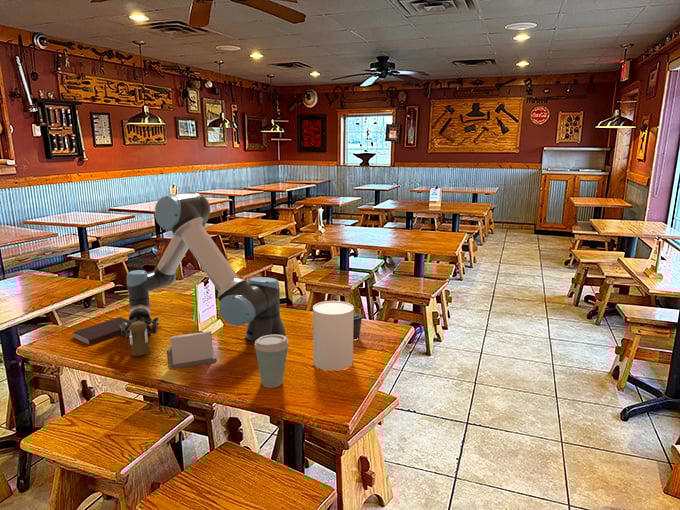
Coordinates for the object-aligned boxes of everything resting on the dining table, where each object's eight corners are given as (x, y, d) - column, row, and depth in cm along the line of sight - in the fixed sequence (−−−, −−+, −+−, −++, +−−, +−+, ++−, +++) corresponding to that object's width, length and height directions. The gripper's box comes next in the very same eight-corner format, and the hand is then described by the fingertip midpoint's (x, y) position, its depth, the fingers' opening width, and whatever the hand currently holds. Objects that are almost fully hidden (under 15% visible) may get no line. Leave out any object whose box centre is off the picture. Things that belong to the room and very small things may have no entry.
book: (137, 330, 187) (136, 322, 186) (89, 346, 171) (88, 338, 170) (120, 323, 193) (119, 316, 193) (72, 339, 178) (71, 331, 177)
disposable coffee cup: (248, 385, 143) (246, 339, 139) (271, 371, 152) (270, 328, 148) (274, 395, 137) (272, 348, 134) (296, 380, 146) (296, 336, 142)
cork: (144, 346, 167) (141, 317, 164) (153, 351, 163) (150, 321, 160) (128, 352, 162) (124, 322, 160) (136, 357, 158) (133, 326, 156)
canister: (331, 376, 149) (331, 317, 144) (305, 362, 159) (304, 306, 154) (361, 363, 158) (362, 307, 153) (334, 350, 167) (334, 298, 163)
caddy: (168, 349, 167) (165, 322, 165) (210, 343, 173) (209, 317, 171) (170, 368, 153) (167, 339, 151) (216, 361, 159) (214, 332, 156)
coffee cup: (339, 341, 175) (339, 316, 173) (344, 333, 183) (344, 309, 181) (360, 343, 173) (360, 318, 171) (364, 335, 181) (364, 311, 179)
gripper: (164, 323, 181) (166, 346, 160) (116, 329, 175) (111, 354, 154) (162, 305, 180) (164, 325, 158) (114, 310, 173) (109, 333, 152)
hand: (138, 339), depth 156 cm, fingers closed on cork, 4 cm apart
